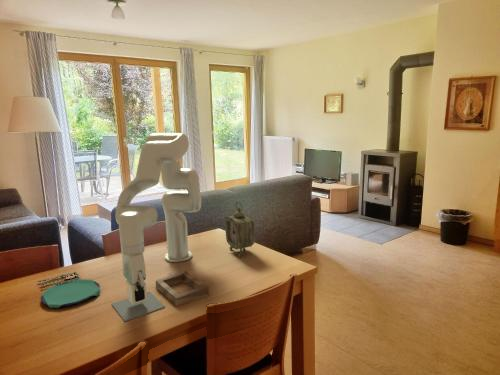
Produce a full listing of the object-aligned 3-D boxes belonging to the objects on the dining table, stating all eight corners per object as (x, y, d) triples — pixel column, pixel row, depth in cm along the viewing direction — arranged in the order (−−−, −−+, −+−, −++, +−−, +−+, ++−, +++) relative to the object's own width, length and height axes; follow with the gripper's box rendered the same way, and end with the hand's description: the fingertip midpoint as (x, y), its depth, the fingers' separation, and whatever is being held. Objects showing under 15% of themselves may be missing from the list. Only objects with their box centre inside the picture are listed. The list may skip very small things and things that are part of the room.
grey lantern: (226, 249, 177) (224, 200, 172) (242, 245, 181) (241, 197, 176) (238, 259, 165) (237, 206, 160) (256, 255, 169) (255, 204, 164)
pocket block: (156, 287, 139) (155, 280, 139) (186, 277, 147) (185, 271, 146) (176, 306, 125) (176, 298, 124) (208, 294, 133) (208, 287, 132)
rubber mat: (111, 304, 127) (111, 303, 127) (149, 292, 135) (149, 291, 135) (124, 321, 116) (124, 320, 116) (165, 307, 125) (165, 306, 124)
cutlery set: (47, 317, 121) (46, 310, 120) (32, 285, 144) (31, 280, 143) (107, 297, 133) (106, 291, 133) (85, 271, 156) (84, 266, 155)
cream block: (127, 298, 126) (126, 280, 124) (141, 294, 129) (140, 276, 127) (132, 304, 122) (131, 285, 120) (147, 299, 125) (145, 281, 123)
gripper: (113, 243, 126) (118, 291, 130) (130, 257, 113) (135, 310, 116) (134, 238, 130) (138, 285, 134) (153, 252, 117) (157, 303, 121)
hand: (137, 296), depth 125 cm, fingers closed on cream block, 5 cm apart
